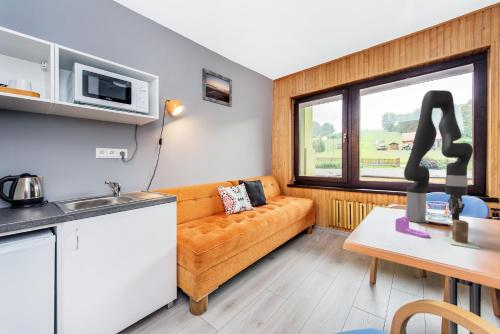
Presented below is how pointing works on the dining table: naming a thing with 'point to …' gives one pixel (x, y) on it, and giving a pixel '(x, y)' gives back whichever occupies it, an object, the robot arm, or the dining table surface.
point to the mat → (470, 243)
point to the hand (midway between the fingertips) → (455, 220)
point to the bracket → (403, 226)
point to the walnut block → (460, 231)
